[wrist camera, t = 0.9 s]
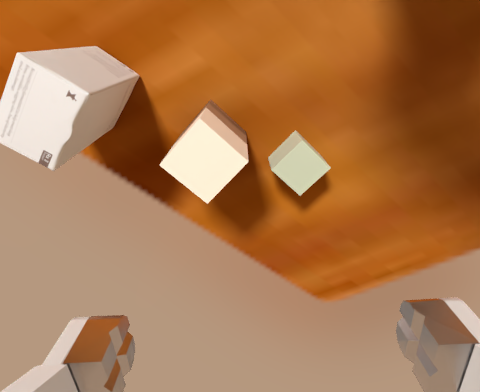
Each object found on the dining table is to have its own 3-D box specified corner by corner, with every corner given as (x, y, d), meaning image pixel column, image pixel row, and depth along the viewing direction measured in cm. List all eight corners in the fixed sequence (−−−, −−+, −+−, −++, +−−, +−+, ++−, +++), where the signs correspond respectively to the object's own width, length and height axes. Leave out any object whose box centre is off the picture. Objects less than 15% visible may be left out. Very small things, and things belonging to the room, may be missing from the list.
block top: (206, 107, 34) (199, 118, 28) (247, 144, 35) (248, 161, 30) (171, 147, 35) (159, 165, 30) (212, 181, 37) (207, 203, 32)
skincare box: (97, 45, 36) (13, 41, 23) (144, 76, 38) (91, 90, 24) (69, 106, 39) (-20, 135, 26) (113, 133, 41) (51, 174, 27)
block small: (295, 130, 41) (302, 139, 36) (321, 155, 42) (330, 167, 38) (268, 157, 42) (271, 170, 38) (293, 180, 44) (299, 196, 39)
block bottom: (210, 99, 39) (206, 107, 34) (246, 132, 41) (247, 144, 35) (180, 134, 41) (171, 147, 35) (215, 164, 43) (212, 181, 37)
